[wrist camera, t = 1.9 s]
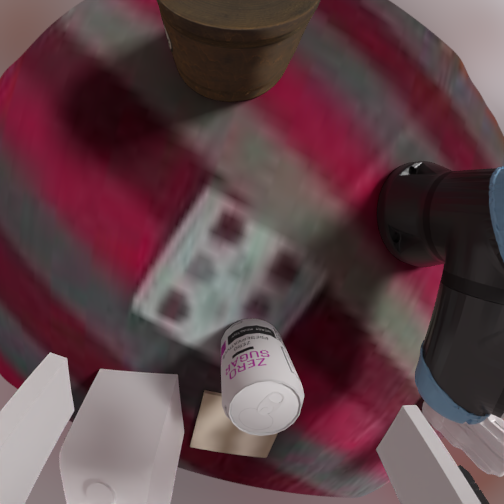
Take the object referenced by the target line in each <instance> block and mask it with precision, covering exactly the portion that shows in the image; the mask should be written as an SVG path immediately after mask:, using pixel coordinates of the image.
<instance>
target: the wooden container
mask: <svg viewBox="0 0 504 504" xmlns="http://www.w3.org/2000/svg"><path fill="white" fill-rule="evenodd" d="M157 2H158V5H159V8H160V13H161V17H162V21H163V24H164V28H165V31H166V36H167V40H168V43H169V46H170V49H171V52H172V55H173V58H174V61H175V64H176V66H177V69H178V72H179V74H180V76H181V77H182V79H183V80H184V81H185V83H186V84H187V85H188V86H189V87H190V88H192V89H193V90H194V91H196V92H197V93H199V94H201V95H203V96H205V97H207V98H210V99H214V100H219V101H227V102H232V101H244V100H248V99H252V98H255V97H257V96H259V95H261V94H263V93H265V92H267V91H268V90H269V89H271V88H272V87H273V86H274V85H275V84H276V83H277V82H278V81H279V79H280V78H281V77H282V75H283V73H284V72H285V70H286V68H287V66H288V64H289V62H290V60H291V58H292V56H293V54H294V53H295V50H296V48H297V46H298V44H299V42H300V40H301V37H302V35H303V33H304V31H305V29H306V27H307V25H308V23H309V21H310V19H311V17H312V15H313V14H314V12H315V10H316V9H317V7H318V5H319V2H320V0H157Z"/></svg>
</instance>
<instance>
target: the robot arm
mask: <svg viewBox="0 0 504 504" xmlns="http://www.w3.org/2000/svg"><path fill="white" fill-rule="evenodd" d="M377 221H378V227H379V231H380V235H381V237H382V240H383V242H384V244H385V245H386V247H387V248H388V250H389V251H390V252H391V253H392V254H393V255H394V256H395V257H396V258H397V259H399V260H401V261H402V262H405V263H408V264H410V265H413V266H417V267H429V266H435V265H440V264H444V269H443V274H442V278H441V281H440V286H439V290H438V294H437V298H436V302H435V306H434V310H433V314H432V317H431V321H430V325H429V328H428V331H427V334H426V337H425V340H424V341H423V343H422V345H421V349H420V357H419V361H418V364H417V368H416V371H415V383H416V385H417V387H418V391H419V393H420V395H421V397H422V398H423V400H424V401H425V402H426V403H427V404H428V405H429V406H430V407H431V408H432V409H433V410H434V411H436V412H437V413H438V414H440V415H441V416H443V417H445V418H447V419H449V420H451V421H454V422H457V423H461V424H463V423H465V422H467V423H468V424H469V425H473V424H478V423H481V422H483V421H484V420H485V419H486V418H488V417H489V416H490V415H491V414H492V415H494V416H497V417H499V418H502V419H504V167H499V168H495V169H478V170H463V171H451V170H449V169H447V168H444V167H442V166H440V165H437V164H435V163H432V162H427V161H418V162H411V163H407V164H404V165H402V166H400V167H398V168H397V169H396V170H394V171H393V172H392V173H391V174H390V176H389V177H388V178H387V180H386V181H385V183H384V185H383V187H382V189H381V192H380V195H379V200H378V206H377ZM73 412H74V404H73V398H72V392H71V386H70V378H69V371H68V362H67V358H65V357H62V356H59V355H56V354H53V353H51V352H50V353H49V354H48V355H47V356H46V358H45V359H44V360H43V361H42V362H41V363H40V364H39V366H38V367H37V368H36V369H35V370H34V371H33V372H32V374H31V375H30V376H29V377H28V378H27V379H26V381H25V382H24V383H23V384H22V385H21V387H20V388H19V389H18V390H17V391H16V393H15V394H14V395H13V396H12V397H11V399H10V400H9V401H8V402H7V404H6V405H5V406H4V407H3V409H2V410H1V411H0V504H25V502H26V500H27V498H28V496H29V494H30V492H31V490H32V488H33V486H34V484H35V482H36V480H37V478H38V476H39V474H40V472H41V470H42V468H43V466H44V464H45V463H46V460H47V459H48V457H49V455H50V453H51V451H52V450H53V448H54V446H55V444H56V442H57V440H58V439H59V437H60V435H61V433H62V431H63V430H64V428H65V426H66V424H67V423H68V421H69V419H70V417H71V416H72V414H73ZM376 451H377V453H378V455H379V457H380V459H381V461H382V464H383V466H384V468H385V470H386V472H387V475H388V477H389V479H390V481H391V483H392V485H393V488H394V490H395V492H396V495H397V497H398V499H399V501H400V503H401V504H489V502H488V501H487V499H486V498H485V496H484V495H483V493H482V491H481V490H479V487H478V485H477V484H476V483H475V481H474V480H473V478H472V476H471V475H470V473H469V472H468V471H467V470H465V469H464V468H463V467H462V466H461V465H460V466H457V465H456V463H455V461H454V460H453V458H452V457H451V455H450V454H449V453H448V451H447V449H446V448H445V446H444V445H443V443H442V442H441V440H440V439H439V437H438V436H437V434H436V433H435V431H434V430H433V429H432V427H431V426H430V424H429V423H428V421H427V420H426V418H425V417H424V415H423V414H422V412H421V411H420V410H419V408H418V407H417V405H407V406H402V408H401V409H400V411H399V413H398V415H397V416H396V418H395V420H394V421H393V423H392V425H391V426H390V428H389V430H388V431H387V433H386V434H385V436H384V438H383V439H382V441H381V442H380V444H379V445H378V447H377V448H376Z"/></svg>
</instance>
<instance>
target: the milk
mask: <svg viewBox="0 0 504 504" xmlns="http://www.w3.org/2000/svg"><path fill="white" fill-rule="evenodd" d="M183 436H184V426H183V418H182V410H181V401H180V392H179V382H178V374H160V373H143V372H130V371H118V370H108V369H100V370H99V372H98V374H97V376H96V377H95V379H94V381H93V383H92V385H91V387H90V389H89V391H88V393H87V395H86V397H85V399H84V401H83V403H82V405H81V407H80V409H79V411H78V413H77V415H76V417H75V419H74V421H73V423H72V425H71V428H70V430H69V432H68V434H67V436H66V438H65V440H64V443H63V445H62V447H61V450H60V455H59V465H60V472H61V478H62V484H63V489H64V494H65V498H66V502H67V504H170V503H171V498H172V492H173V487H174V482H175V477H176V471H177V466H178V461H179V456H180V451H181V446H182V441H183Z"/></svg>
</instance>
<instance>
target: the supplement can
mask: <svg viewBox="0 0 504 504" xmlns="http://www.w3.org/2000/svg"><path fill="white" fill-rule="evenodd" d="M221 391H222V407H223V409H224V412H225V415H226V416H227V417H228V418H229V419H230V420H231V421H232V423H233V424H234V425H235V426H236V427H237V428H238V429H239V430H241V431H243V432H245V433H247V434H250V435H258V436H265V435H273V434H276V433H278V432H281V431H283V430H285V429H287V428H288V427H289V426H291V425H292V424H293V423H294V422H295V421H296V419H297V418H298V416H299V415H300V411H301V408H302V404H303V400H304V391H303V386H302V383H301V381H300V379H299V377H298V374H297V372H296V370H295V368H294V366H293V363H292V361H291V359H290V357H289V354H288V352H287V350H286V348H285V345H284V343H283V341H282V339H281V336H280V334H279V333H278V331H277V330H276V329H275V327H274V326H273V325H271V324H269V323H268V322H266V321H264V320H260V319H255V318H253V319H243V320H241V321H239V322H237V323H234V324H233V325H232V326H231V327H230V328H228V329H227V330H226V332H225V334H224V335H223V337H222V339H221Z"/></svg>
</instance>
